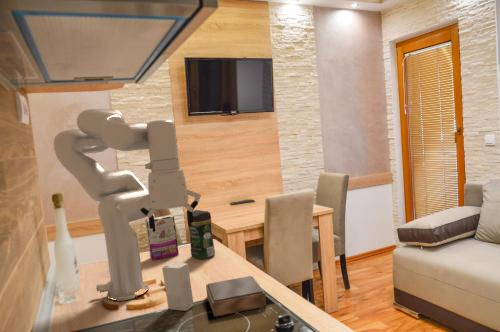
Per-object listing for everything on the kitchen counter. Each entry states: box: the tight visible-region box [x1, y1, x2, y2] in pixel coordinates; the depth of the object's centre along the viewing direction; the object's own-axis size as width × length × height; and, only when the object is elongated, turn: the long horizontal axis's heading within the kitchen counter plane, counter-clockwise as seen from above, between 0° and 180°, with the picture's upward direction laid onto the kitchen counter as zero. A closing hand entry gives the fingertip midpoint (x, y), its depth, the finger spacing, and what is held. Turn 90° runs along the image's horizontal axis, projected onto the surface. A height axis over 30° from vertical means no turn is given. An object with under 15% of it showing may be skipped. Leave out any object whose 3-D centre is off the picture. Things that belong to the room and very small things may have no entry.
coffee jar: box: [188, 209, 216, 260], centre depth 157 cm, size 10×8×19 cm
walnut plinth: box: [205, 275, 267, 318], centre depth 110 cm, size 14×14×4 cm
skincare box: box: [161, 262, 194, 312], centre depth 110 cm, size 6×4×12 cm
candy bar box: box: [144, 214, 179, 262], centre depth 162 cm, size 11×5×16 cm, turn 114°
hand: (172, 228), depth 109 cm, fingers open, 9 cm apart
